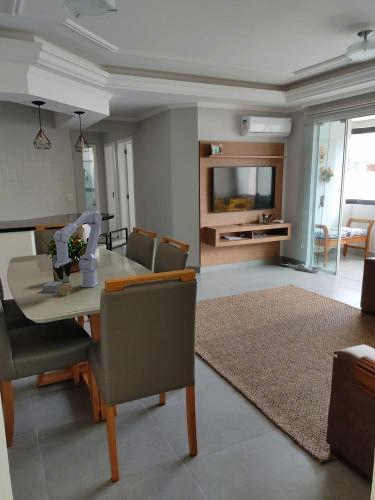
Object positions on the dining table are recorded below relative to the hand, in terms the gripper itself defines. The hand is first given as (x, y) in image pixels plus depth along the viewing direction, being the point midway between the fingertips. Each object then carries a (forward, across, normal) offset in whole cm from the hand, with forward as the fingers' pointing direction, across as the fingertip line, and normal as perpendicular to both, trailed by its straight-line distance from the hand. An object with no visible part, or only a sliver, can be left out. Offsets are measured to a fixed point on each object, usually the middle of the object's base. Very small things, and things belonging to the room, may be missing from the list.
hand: (64, 277), depth 196 cm
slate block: (+10, -6, -11) cm, 16 cm away
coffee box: (+10, -23, -15) cm, 29 cm away
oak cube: (+9, 0, 0) cm, 9 cm away
